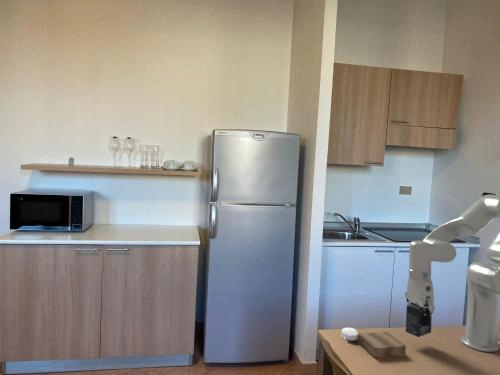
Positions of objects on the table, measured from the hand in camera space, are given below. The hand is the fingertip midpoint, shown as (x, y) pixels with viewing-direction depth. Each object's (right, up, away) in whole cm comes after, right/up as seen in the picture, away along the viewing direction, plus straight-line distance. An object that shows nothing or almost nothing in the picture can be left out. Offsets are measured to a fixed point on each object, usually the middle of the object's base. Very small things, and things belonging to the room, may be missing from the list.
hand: (418, 321), depth 142 cm
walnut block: (-16, -9, -4) cm, 19 cm away
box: (0, -5, 0) cm, 5 cm away
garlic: (-24, -9, +4) cm, 26 cm away
